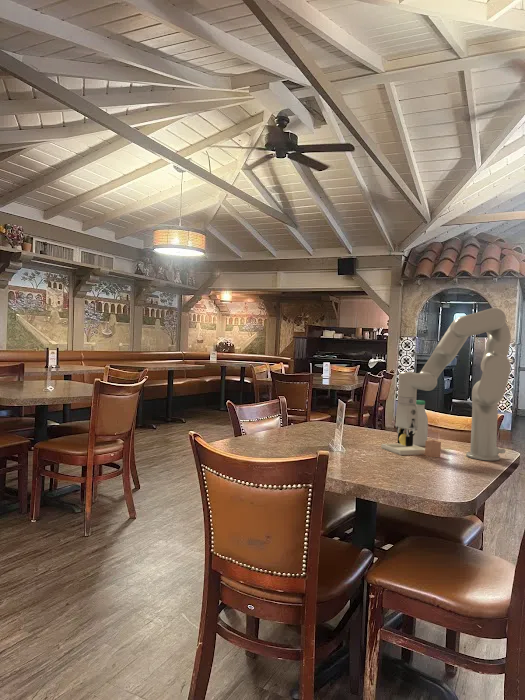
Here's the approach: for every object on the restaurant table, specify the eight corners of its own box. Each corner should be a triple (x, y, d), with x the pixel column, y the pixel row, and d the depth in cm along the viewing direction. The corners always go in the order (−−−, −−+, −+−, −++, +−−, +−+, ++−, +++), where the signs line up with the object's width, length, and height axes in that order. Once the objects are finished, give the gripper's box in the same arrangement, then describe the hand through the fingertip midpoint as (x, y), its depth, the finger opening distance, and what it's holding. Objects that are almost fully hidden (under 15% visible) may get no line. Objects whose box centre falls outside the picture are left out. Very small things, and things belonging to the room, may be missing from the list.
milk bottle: (429, 447, 227) (431, 401, 226) (411, 446, 227) (413, 401, 227) (424, 443, 234) (425, 400, 234) (407, 443, 234) (408, 399, 234)
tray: (409, 447, 223) (409, 443, 223) (429, 454, 210) (429, 449, 210) (381, 448, 219) (381, 443, 219) (399, 455, 205) (400, 450, 205)
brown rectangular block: (433, 454, 209) (434, 440, 209) (440, 457, 205) (441, 442, 205) (424, 455, 208) (425, 440, 208) (431, 457, 204) (432, 442, 204)
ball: (406, 444, 217) (407, 432, 217) (413, 446, 213) (414, 434, 213) (396, 444, 216) (396, 432, 216) (403, 446, 211) (403, 434, 211)
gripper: (427, 403, 207) (425, 448, 207) (402, 399, 224) (401, 440, 224) (411, 403, 205) (409, 448, 205) (388, 399, 221) (386, 441, 221)
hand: (405, 444), depth 214 cm, fingers closed on ball, 4 cm apart
